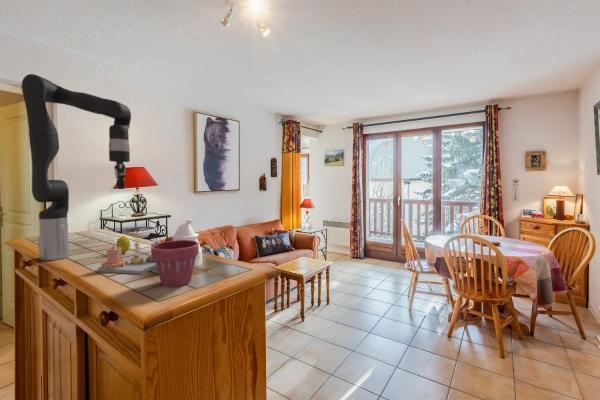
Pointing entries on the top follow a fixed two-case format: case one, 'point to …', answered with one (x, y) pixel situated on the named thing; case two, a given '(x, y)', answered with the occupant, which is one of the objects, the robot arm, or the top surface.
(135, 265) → the carrier
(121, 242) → the lemon
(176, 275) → the plant pot
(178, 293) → the top surface
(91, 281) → the top surface
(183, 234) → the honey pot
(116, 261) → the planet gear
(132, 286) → the top surface
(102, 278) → the top surface
